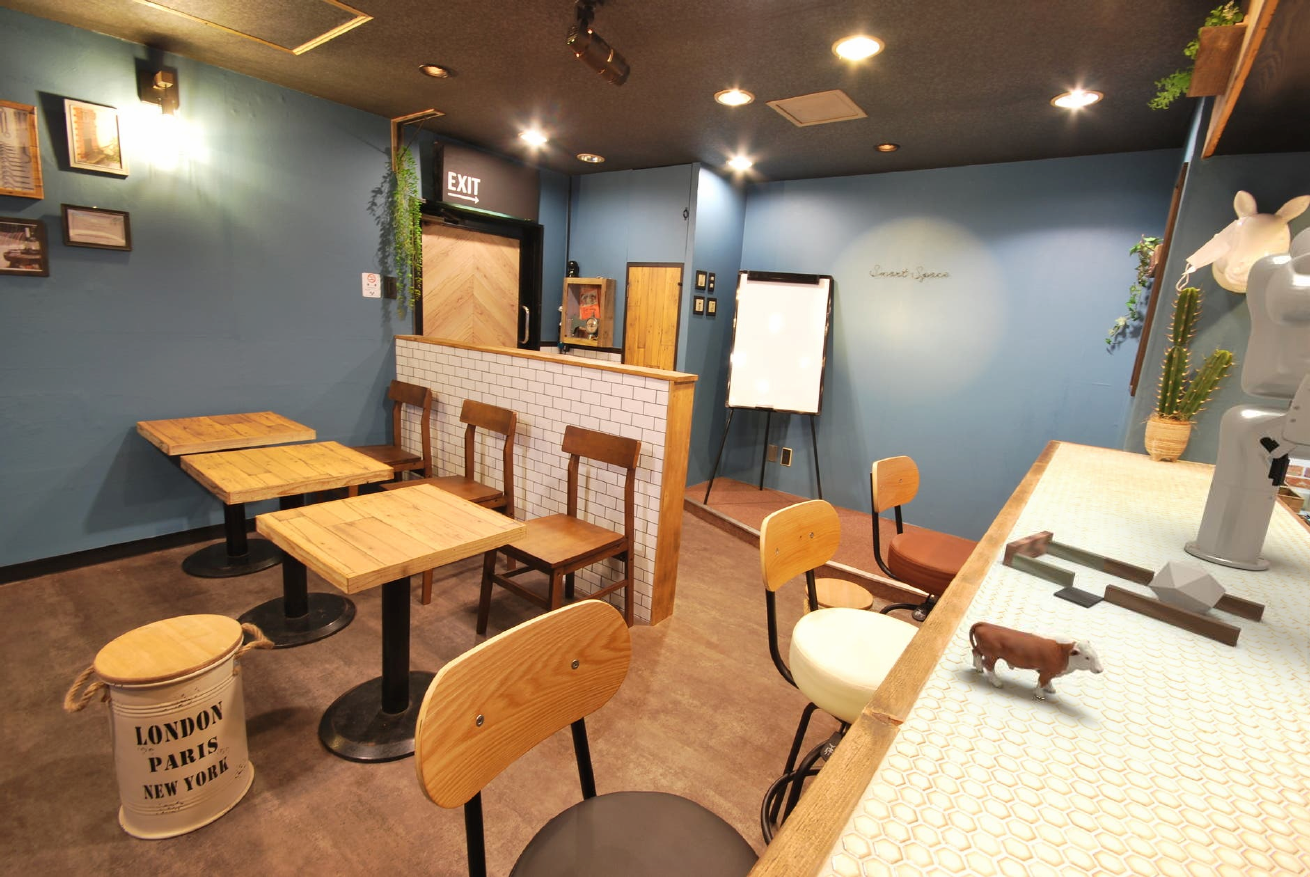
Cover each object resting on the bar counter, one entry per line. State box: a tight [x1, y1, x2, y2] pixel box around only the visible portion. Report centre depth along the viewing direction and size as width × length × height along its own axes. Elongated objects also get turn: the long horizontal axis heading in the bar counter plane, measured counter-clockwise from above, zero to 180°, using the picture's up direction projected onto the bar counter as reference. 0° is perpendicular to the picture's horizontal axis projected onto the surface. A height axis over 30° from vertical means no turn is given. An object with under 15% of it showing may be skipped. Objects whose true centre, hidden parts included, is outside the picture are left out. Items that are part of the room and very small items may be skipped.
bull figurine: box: [968, 621, 1104, 698], centre depth 70 cm, size 4×13×8 cm, turn 58°
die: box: [1147, 561, 1227, 616], centre depth 94 cm, size 8×9×10 cm
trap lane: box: [1002, 530, 1266, 647], centre depth 101 cm, size 28×32×4 cm
